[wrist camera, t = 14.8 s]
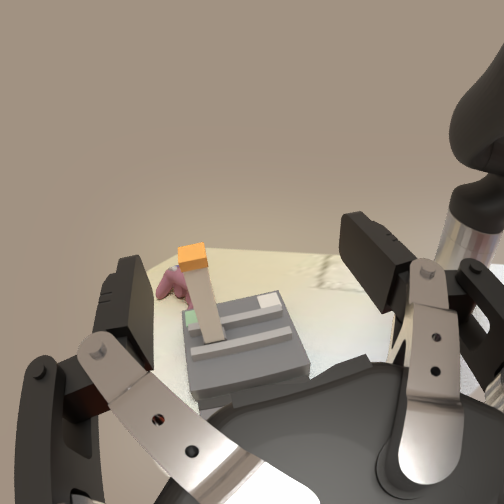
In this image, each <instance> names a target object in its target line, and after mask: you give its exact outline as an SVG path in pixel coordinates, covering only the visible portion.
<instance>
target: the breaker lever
mask: <svg viewBox="0 0 504 504" xmlns="http://www.w3.org/2000/svg"><path fill="white" fill-rule="evenodd" d="M178 263H179V267H180V270H181V272H183V274H184V278H185V281H186V285H187V288H188V291H189V294H190V298H191V301H192V304H193V307H194V310H195V314H196V317H197V320H198V323H199V326H200V329H201V332H202V337H203V343H204V345H209V344H214V343H219V342H223V341H227V338H226V334H225V330H224V326H223V327H222V325H221V321H220V317H219V313H218V309H217V305H216V301H215V297H214V292H213V288H212V284H211V280H210V275H209V271H208V262H207V256H206V251H205V246H204V243H203V242H202V243H197V244H192V245H187V246H182V247H178Z"/></svg>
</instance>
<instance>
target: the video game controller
mask: <svg viewBox="0 0 504 504" xmlns="http://www.w3.org/2000/svg"><path fill="white" fill-rule="evenodd" d="M173 287H174V293H175V295H176V296H177V297H183V296H186V297H185V299H186V302H187V303H188V304H189V306H188V309H187V310H189V309H194V307H193V304H192V301H191V298H190V294H189V291H188V288H187V285H186V281H185V278H184V274H183V272H181V270H180V267H179V265H176V266H173V267H171V268H168V270H166V272H165V273H164V276H163V278H162V280H161V282H160V283H159V285H158V287H157V289H156V297H157V298H158V299H162V298H164V297H165V296H166V295H167V294H168V293H169V292H170V290H171V289H172V288H173ZM187 291H188V292H187Z"/></svg>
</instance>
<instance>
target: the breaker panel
mask: <svg viewBox="0 0 504 504" xmlns="http://www.w3.org/2000/svg"><path fill="white" fill-rule="evenodd" d="M216 305H217V309H218V313H219V317H220V321H221V325H222V327H223V326H224V330H225V334H226V338H227V341H223V342H219V343H214V344H209V345H204V343H203V337H202V332H201V329H200V326H199V323H198V320H197V317H196V314H195V310H194V309H189V310H184V311H182V320H183V332H184V343H185V353H186V362H187V371H188V379H189V387H190V392H191V394H192V396H193V398H194V399H195V401H196V402H197V401H198V400H203V399H209V398H214V397H220V396H225V395H229V394H230V393H232V392H237V391H241V390H246V389H250V388H255V387H259V386H263V385H273V384H276V383H280V382H284V381H288V380H291V379H295V378H298V377H302V376H305V375H309V372H310V364H311V363H310V361H309V359H308V356H307V354H306V352H305V349H304V347H303V345H302V343H301V340H300V338H299V336H298V333H297V331H296V329H295V327H294V324H293V322H292V320H291V318H290V315H289V313H288V311H287V309H286V306H285V304H284V302H283V300H282V297H281V295H280V293H279V291H278V290H277V291H273V292H268V293H264V294H260V295H255V296H251V297H246V298H242V299H237V300H232V301H228V302H223V303H218V304H216Z"/></svg>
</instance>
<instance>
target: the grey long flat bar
mask: <svg viewBox="0 0 504 504" xmlns="http://www.w3.org/2000/svg"><path fill="white" fill-rule="evenodd" d="M309 380H310V379H309V377H308V375H305V376H302V377H298V378H295V379H291V380H288V381H284V382H280V383H276V384H296V383H305V382H307V381H309ZM273 385H275V384H273ZM229 403H232V399H231V395H230V394H229V395H225V396H220V397H214V398H209V399H203V400H198V406H199V412H200V416H201V417H202V418H203V419H204V420H207V419H208V418H209V417H210V416H211V415H212V414H213V413H215V412H216V411H217V410H219V409H220V408H222V407H224V406H225V405H227V404H229Z"/></svg>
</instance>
